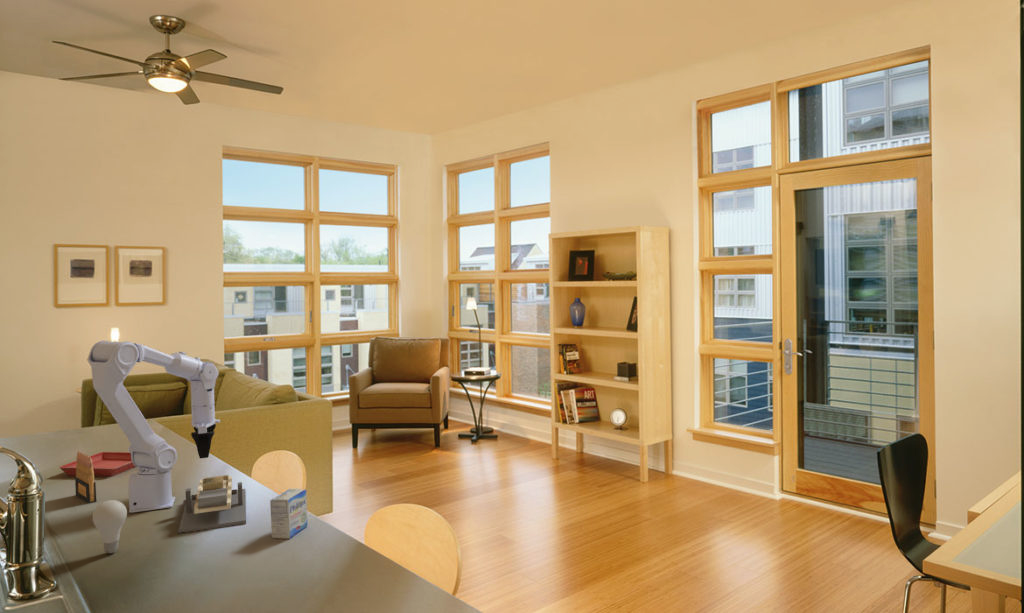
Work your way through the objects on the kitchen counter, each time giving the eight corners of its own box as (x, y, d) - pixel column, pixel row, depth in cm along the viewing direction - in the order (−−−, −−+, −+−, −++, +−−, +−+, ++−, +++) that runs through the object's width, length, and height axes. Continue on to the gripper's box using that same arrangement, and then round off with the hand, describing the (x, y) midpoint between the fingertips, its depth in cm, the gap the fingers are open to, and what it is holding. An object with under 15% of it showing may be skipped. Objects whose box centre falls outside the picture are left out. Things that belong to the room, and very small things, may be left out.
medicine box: (289, 539, 141) (288, 500, 140) (270, 538, 141) (269, 499, 141) (308, 526, 148) (306, 488, 148) (290, 525, 149) (289, 487, 149)
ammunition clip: (96, 501, 169) (94, 456, 168) (88, 503, 167) (86, 457, 167) (83, 493, 176) (81, 449, 175) (75, 495, 174) (73, 451, 174)
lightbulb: (92, 561, 131) (90, 507, 131) (95, 550, 136) (93, 499, 136) (127, 555, 134) (125, 502, 133) (129, 545, 139) (127, 494, 139)
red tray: (154, 462, 208) (154, 452, 208) (114, 479, 190) (114, 467, 190) (102, 461, 210) (101, 451, 210) (57, 478, 192) (57, 467, 192)
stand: (246, 523, 151) (245, 498, 150) (178, 533, 145) (177, 507, 145) (245, 491, 175) (244, 469, 174) (187, 499, 169) (186, 476, 169)
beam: (236, 508, 151) (235, 494, 151) (188, 515, 147) (187, 500, 147) (237, 481, 172) (236, 468, 172) (195, 486, 168) (194, 473, 168)
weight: (223, 497, 156) (222, 481, 156) (203, 500, 154) (202, 483, 154) (223, 492, 160) (223, 476, 160) (204, 494, 158) (203, 478, 158)
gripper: (218, 408, 172) (220, 459, 173) (219, 399, 186) (221, 446, 186) (188, 410, 170) (190, 462, 170) (192, 401, 183) (194, 449, 183)
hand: (204, 454), depth 178 cm, fingers open, 7 cm apart
